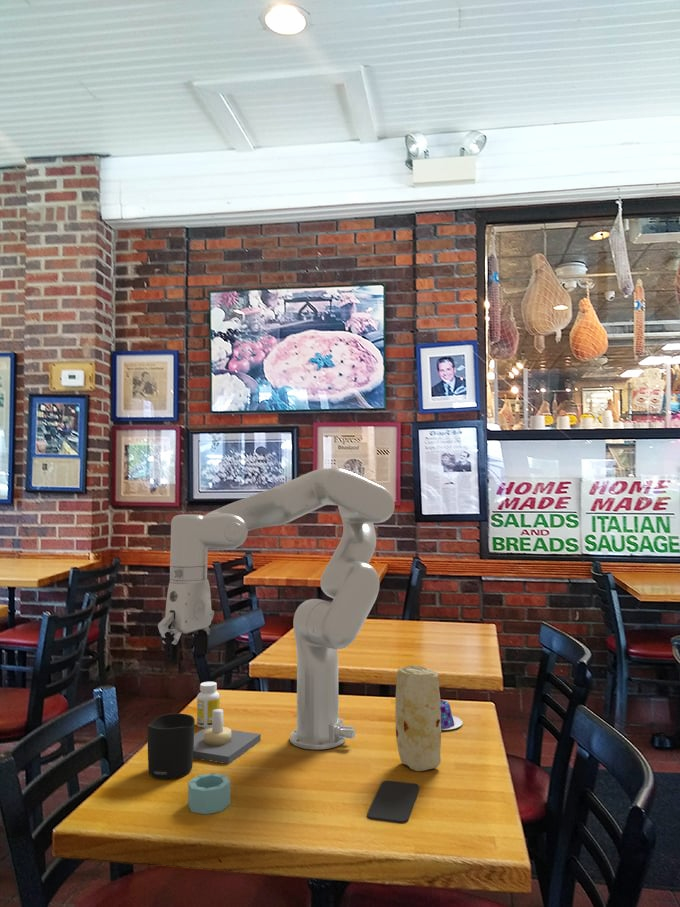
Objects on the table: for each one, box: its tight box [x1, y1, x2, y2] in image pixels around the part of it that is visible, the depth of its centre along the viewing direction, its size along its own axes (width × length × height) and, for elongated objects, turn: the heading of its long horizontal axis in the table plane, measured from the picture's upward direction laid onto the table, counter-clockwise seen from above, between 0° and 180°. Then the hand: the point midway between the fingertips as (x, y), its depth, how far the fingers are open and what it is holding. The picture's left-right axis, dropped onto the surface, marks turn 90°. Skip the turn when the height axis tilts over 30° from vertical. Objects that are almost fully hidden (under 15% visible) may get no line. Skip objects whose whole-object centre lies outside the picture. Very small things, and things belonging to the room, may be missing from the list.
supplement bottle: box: [196, 681, 221, 729], centre depth 163 cm, size 5×5×10 cm
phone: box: [366, 780, 420, 824], centre depth 122 cm, size 7×1×15 cm
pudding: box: [440, 699, 464, 731], centre depth 164 cm, size 12×12×5 cm
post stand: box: [193, 708, 262, 765], centre depth 149 cm, size 14×14×8 cm
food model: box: [394, 665, 442, 772], centre depth 139 cm, size 10×7×20 cm
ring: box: [187, 772, 231, 815], centre depth 121 cm, size 7×7×4 cm
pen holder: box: [146, 712, 196, 780], centre depth 136 cm, size 9×9×10 cm
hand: (186, 658), depth 137 cm, fingers open, 9 cm apart
